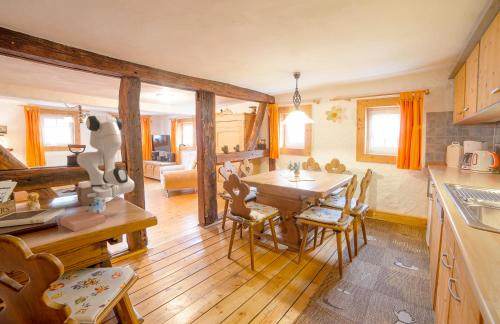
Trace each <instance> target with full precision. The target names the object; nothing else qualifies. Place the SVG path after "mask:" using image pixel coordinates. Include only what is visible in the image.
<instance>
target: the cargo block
mask: <svg viewBox="0 0 500 324" xmlns="http://www.w3.org/2000/svg"><path fill="white" fill-rule="evenodd" d="M78 187H79V188H87V187H91V183H90V180H89V181H88V180H84V181H79V182H78Z"/></svg>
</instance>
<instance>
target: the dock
mask: <svg viewBox="0 0 500 324" xmlns="http://www.w3.org/2000/svg"><path fill="white" fill-rule="evenodd" d="M59 220H60V221H59V222H60V226H63V227H64V228H67V229H69V230H70V231H73V232H78V231H81V230H84V229H88V228H91V227H94V226H98V225H101V224H104V223H106V215H104V214H101V213H96V212H93V211H87V212H85V211H84V212H80V213H76V214H72V215H68V216H64V217H60V218H59Z"/></svg>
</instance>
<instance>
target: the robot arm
mask: <svg viewBox="0 0 500 324" xmlns="http://www.w3.org/2000/svg"><path fill="white" fill-rule="evenodd" d="M85 125H86V128H87V130H89V131H90V134H89V136H90V137H89V145H90V147H92V148H93V149H95V150H96V151H86V152H82V153H79V154H78V155H77V156H76V163H77V164H78V165H79V166H80V167H82V168H83V169H85V170H86V171H87V173H88V176H89V182H90V183H91V186H92V187H93V193H89V194H86V197H95V196H96V197H99V198H105V203H107V202H111V200H113V198H115V197H117V195H124V194H125V195H126V194H128V193H131V192H132V191H134V189H135V181H134V180H133V179H131V177H130V176H129V174H128V171H127V169H126V168H124V167H122V166H116V165H115V161H116V154H117V152H118V151H119V150H120V148H121V147H122V135H121V130H122V129H123V121H122V119H121V118H120V117H118V116H111V115H110V116H108V115H88V117H86V122H85ZM100 166H101V167H102V166H103V170H102V169H99V167H100ZM115 166H116V167H115Z"/></svg>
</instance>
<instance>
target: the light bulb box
mask: <svg viewBox="0 0 500 324" xmlns="http://www.w3.org/2000/svg"><path fill="white" fill-rule="evenodd" d="M106 206H107V205H106V202H105V198H99V197H96V196H95V197H94V203H93V204H89V205H84V212H87V211H93V212H96V213H99V214H101V213H104V212H105V211H107V207H106Z"/></svg>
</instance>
